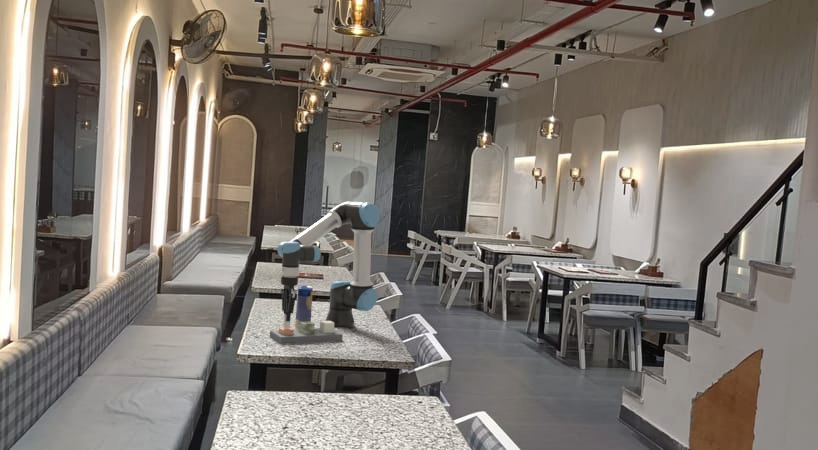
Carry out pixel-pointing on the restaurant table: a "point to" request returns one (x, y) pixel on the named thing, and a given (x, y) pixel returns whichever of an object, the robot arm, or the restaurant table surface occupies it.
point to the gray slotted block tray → (305, 337)
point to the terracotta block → (286, 331)
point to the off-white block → (326, 326)
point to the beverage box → (303, 305)
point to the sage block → (307, 327)
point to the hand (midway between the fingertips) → (286, 327)
